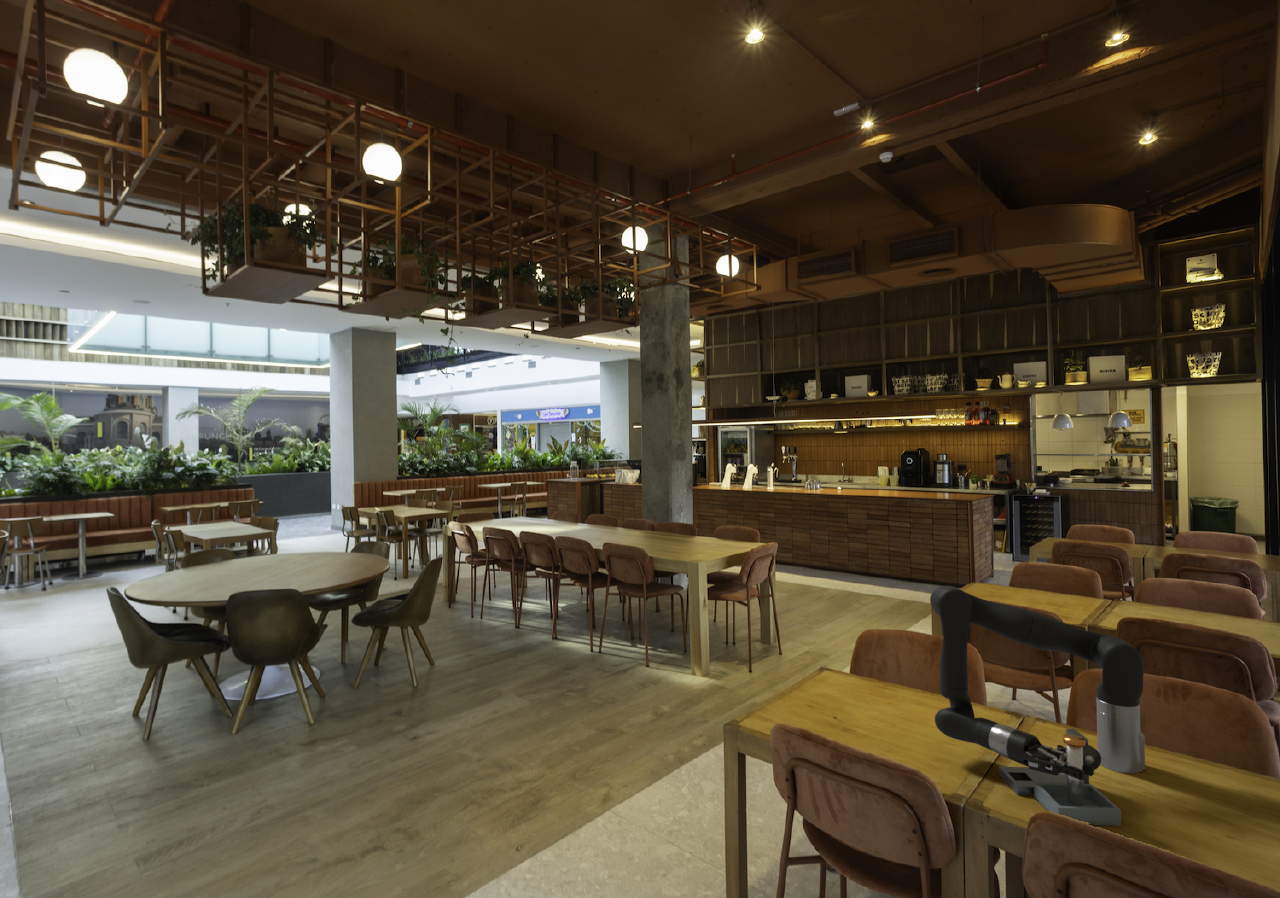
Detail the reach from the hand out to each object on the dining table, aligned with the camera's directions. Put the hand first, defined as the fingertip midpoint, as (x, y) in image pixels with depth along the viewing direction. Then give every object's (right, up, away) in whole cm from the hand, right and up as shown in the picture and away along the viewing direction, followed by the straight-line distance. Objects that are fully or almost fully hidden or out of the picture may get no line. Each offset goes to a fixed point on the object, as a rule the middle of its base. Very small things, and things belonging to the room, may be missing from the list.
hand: (1088, 773), depth 148 cm
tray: (-1, -10, +2) cm, 10 cm away
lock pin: (-1, -8, +2) cm, 8 cm away
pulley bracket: (-1, -10, +14) cm, 17 cm away
